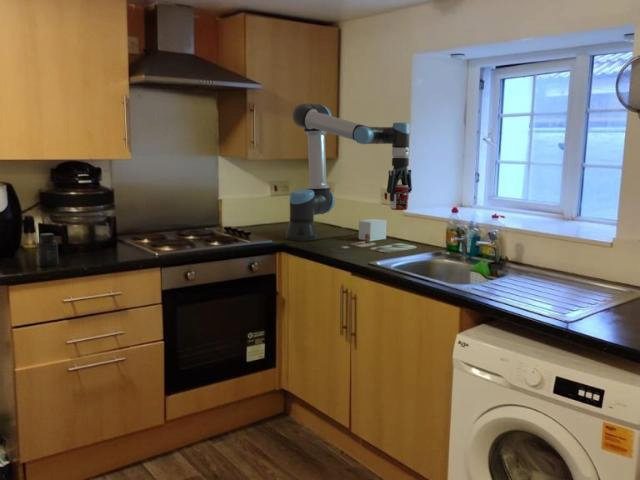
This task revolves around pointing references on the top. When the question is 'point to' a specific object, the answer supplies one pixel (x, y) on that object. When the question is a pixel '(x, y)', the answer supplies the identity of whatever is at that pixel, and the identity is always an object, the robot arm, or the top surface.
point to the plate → (366, 243)
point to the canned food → (401, 197)
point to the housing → (372, 229)
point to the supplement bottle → (47, 250)
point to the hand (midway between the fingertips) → (399, 207)
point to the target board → (393, 248)
